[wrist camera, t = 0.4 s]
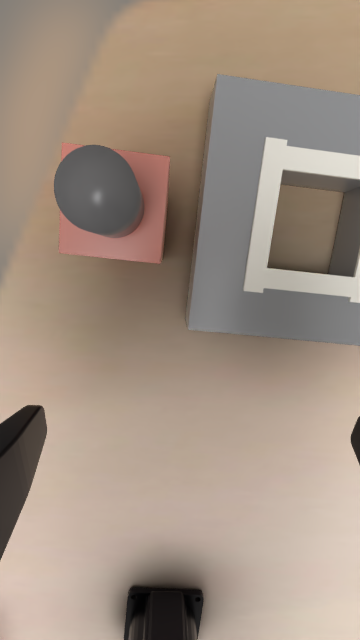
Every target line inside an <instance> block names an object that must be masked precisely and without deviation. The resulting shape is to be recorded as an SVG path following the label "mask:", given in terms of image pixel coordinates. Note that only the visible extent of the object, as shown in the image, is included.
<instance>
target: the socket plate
mask: <svg viewBox="0 0 360 640" xmlns="http://www.w3.org/2000/svg"><path fill="white" fill-rule="evenodd" d="M280 184H284V185H291V186H299V187H307V188H315V189H323V190H331V191H339V192H345V193H344V198H343V203H342V208H341V213H340V218H339V223H338V228H337V233H336V238H335V243H334V248H333V253H332V258H331V263H330V268H329V273H328V274H321V273H312V272H302V271H293V270H284V269H275V268H267V264H268V258H269V252H270V246H271V239H272V233H273V227H274V221H275V215H276V208H277V202H278V196H279V190H280ZM185 321H186V325H187V328H188V330H198V331H209V332H219V333H230V334H241V335H251V336H262V337H273V338H283V339H294V340H305V341H315V342H326V343H337V344H347V345H358V346H360V95H355V94H348V93H341V92H334V91H328V90H321V89H314V88H307V87H301V86H294V85H287V84H281V83H274V82H267V81H260V80H254V79H247V78H240V77H234V76H227V75H220V74H217V77H216V81H215V84H214V88H213V91H212V95H211V98H210V102H209V111H208V120H207V129H206V138H205V147H204V156H203V165H202V174H201V182H200V191H199V200H198V209H197V218H196V227H195V236H194V245H193V254H192V262H191V271H190V280H189V289H188V298H187V307H186V316H185Z"/></svg>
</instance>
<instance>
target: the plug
mask: <svg viewBox="0 0 360 640" xmlns="http://www.w3.org/2000/svg"><path fill="white" fill-rule="evenodd" d="M169 169H170V157H169V156H162V155H154V154H146V153H139V152H131V151H123V150H116V149H110V148H107V147H104V146H100V145H86V146H85V145H77V144H69V143H62V157H61V163H60V165H59V167H58V169H57V171H56V174H55V179H54V193H55V198H56V201H57V204H58V206H59V208H60V230H59V253H64V254H73V255H82V256H92V257H101V258H110V259H120V260H129V261H138V262H148V263H157V264H160V263H161V262H162V260H163V249H164V239H165V228H166V218H167V207H168V193H169Z"/></svg>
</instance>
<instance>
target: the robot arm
mask: <svg viewBox="0 0 360 640" xmlns="http://www.w3.org/2000/svg"><path fill="white" fill-rule="evenodd" d="M46 435H47V425H46V418H45V412H44V408H43V406H41V405H27V406H25V407H23V408H22V409H21V410H19V411H18V412H16V413H15V414H13V415H12V416H11V417H9V418H8V419H6V420H5V421H3V422H2V423H1V424H0V560H1V558H2V555H3V553H4V551H5V548H6V546H7V543H8V541H9V539H10V536H11V534H12V532H13V529H14V527H15V525H16V522H17V520H18V517H19V515H20V513H21V510H22V508H23V506H24V503H25V501H26V498H27V496H28V493H29V491H30V488H31V485H32V481H33V478H34V475H35V472H36V468H37V465H38V462H39V458H40V455H41V452H42V448H43V445H44V442H45V439H46ZM351 444H352V447H353V449H354V452H355V454H356V457H357V459H358V462H359V464H360V417H358V419H357V422H356V424H355V427H354V429H353V432H352V434H351ZM203 600H204V599H203V592H202V591H200V590H186V589H160V588H131V589H130V590H129V592H128V601H127V612H126V623H125V634H124V640H197V639H198V633H199V626H200V620H201V613H202V607H203Z"/></svg>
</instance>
